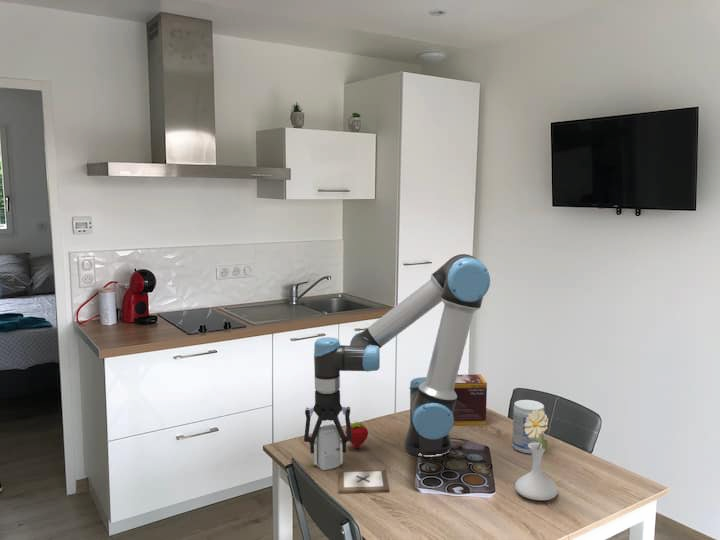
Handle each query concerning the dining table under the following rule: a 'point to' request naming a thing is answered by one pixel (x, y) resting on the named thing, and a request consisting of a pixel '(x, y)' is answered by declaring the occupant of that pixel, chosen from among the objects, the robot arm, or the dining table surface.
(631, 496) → the dining table surface
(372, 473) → the tray with cross mark
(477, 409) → the supplement box
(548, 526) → the dining table surface
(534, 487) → the flower in vase
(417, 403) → the robot arm
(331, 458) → the skincare box
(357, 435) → the strawberry
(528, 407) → the supplement tub
